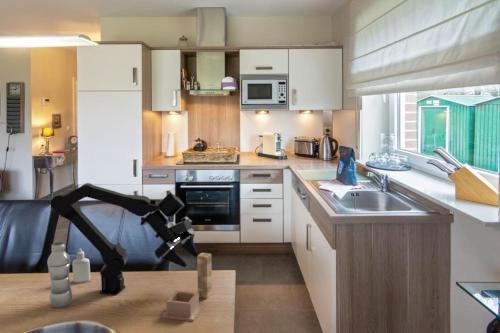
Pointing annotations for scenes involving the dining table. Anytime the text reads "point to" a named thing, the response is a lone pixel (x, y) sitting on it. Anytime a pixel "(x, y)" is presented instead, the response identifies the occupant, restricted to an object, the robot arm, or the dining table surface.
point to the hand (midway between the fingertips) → (192, 261)
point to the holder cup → (183, 306)
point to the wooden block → (204, 274)
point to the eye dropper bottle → (81, 268)
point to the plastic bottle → (59, 276)
